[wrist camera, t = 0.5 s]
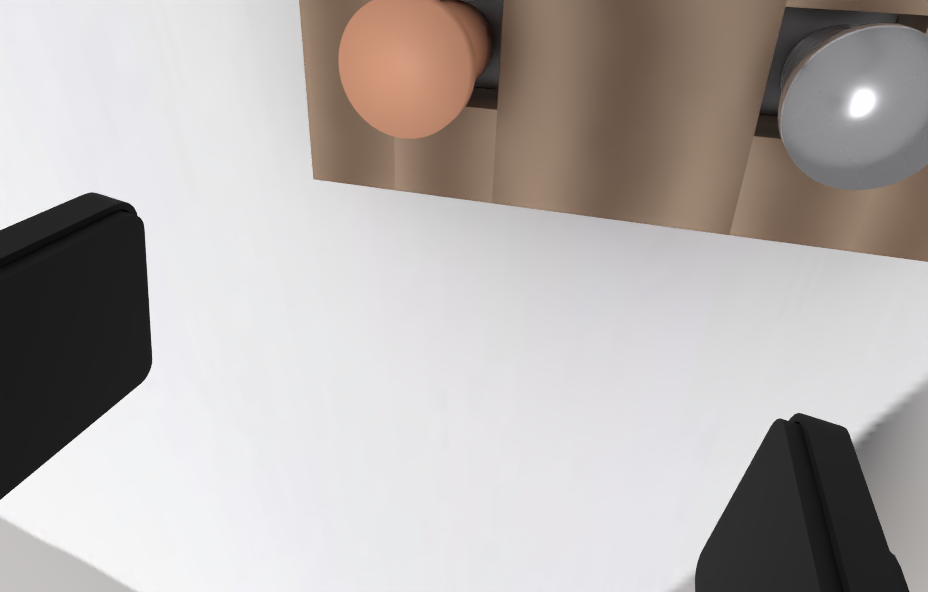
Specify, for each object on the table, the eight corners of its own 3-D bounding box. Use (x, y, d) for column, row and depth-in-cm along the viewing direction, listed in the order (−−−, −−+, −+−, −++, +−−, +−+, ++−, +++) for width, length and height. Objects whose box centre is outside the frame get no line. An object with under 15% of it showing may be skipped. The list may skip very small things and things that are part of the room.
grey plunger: (927, 10, 25) (994, 33, 20) (881, 145, 28) (929, 199, 22) (780, 1, 27) (805, 20, 21) (748, 132, 29) (764, 180, 24)
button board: (1080, -120, 25) (1142, -127, 21) (937, 230, 32) (967, 267, 28) (330, -136, 31) (287, -144, 28) (345, 156, 38) (313, 179, 35)
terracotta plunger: (511, -15, 29) (472, -1, 23) (504, 107, 32) (466, 145, 26) (397, -22, 30) (334, -10, 25) (399, 96, 33) (342, 131, 27)
